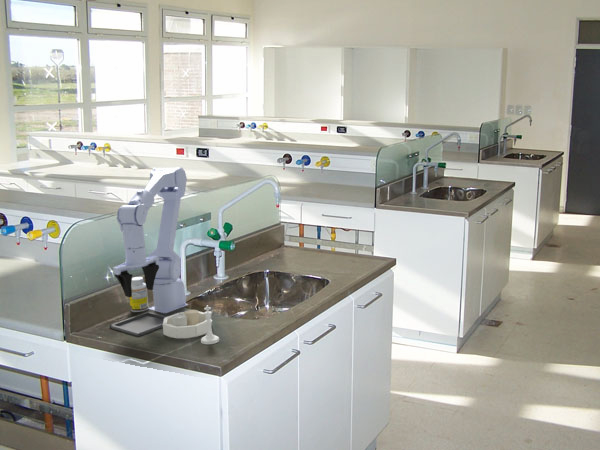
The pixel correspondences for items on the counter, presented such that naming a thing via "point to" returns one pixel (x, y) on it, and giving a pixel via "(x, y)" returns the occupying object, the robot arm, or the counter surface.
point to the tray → (140, 324)
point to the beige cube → (192, 317)
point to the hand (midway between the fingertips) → (139, 292)
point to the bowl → (184, 328)
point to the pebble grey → (179, 320)
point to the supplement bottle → (138, 295)
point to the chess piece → (209, 329)
